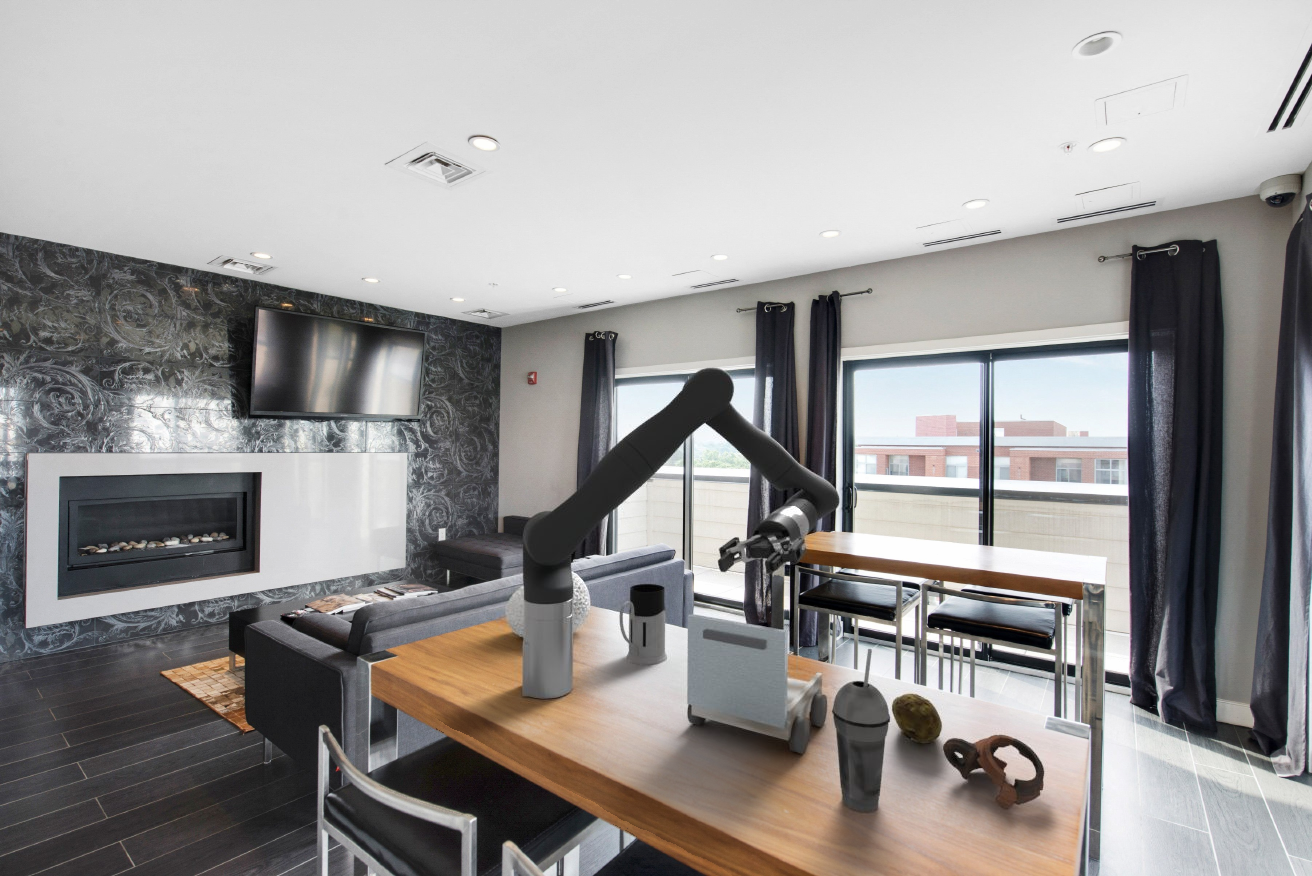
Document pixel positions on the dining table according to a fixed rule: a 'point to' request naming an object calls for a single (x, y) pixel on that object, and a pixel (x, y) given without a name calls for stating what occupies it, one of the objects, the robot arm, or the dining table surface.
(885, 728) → the beverage cup
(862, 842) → the dining table surface
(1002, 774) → the brown curved piece
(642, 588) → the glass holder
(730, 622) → the panel
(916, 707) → the potato
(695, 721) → the flatbed cart
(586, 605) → the cauliflower
